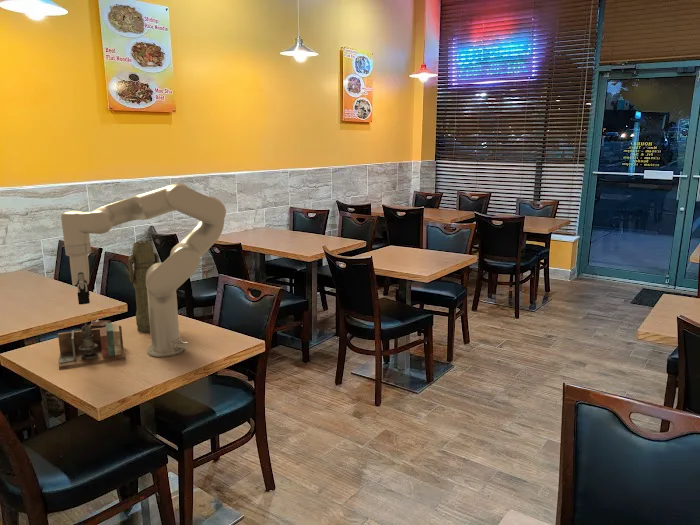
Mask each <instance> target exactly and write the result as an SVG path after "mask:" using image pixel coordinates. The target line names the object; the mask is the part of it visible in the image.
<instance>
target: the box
mask: <svg viewBox="0 0 700 525" xmlns="http://www.w3.org/2000/svg"><path fill="white" fill-rule="evenodd" d="M106 323H112V320H94V321H93V322H91V323H90V324H88V325H89V326H91V329H96V328H103V327H106Z"/></svg>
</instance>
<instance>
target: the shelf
mask: <svg viewBox="0 0 700 525" xmlns="http://www.w3.org/2000/svg"><path fill="white" fill-rule="evenodd" d="M91 332H92V334H93V336H92V338H93V343H95V344H98V347H97V351H96V352H95V353H97V354H98V356H97V357H96V358H93V359H88V360H84V359H81V357H82V356H83V355H84V354H82V353H81V351H80V349H79V347H80V346H82V345H83V338H82V337H81V336H82V329H81V330H74V334H75V343H76V361H74V362H68V363H61V364H59V363H58V370H63V369H70V368H78V367H84V366H90V365H96V364H97V365H98V364H103V363H110V362H117V361H123V360H126V353H125V349H124V348H125V347H124V342H123V341H124V339H123V330H122V324H119V323H118V322H115V323H113V322H111V323H106V327H103V328H96V329H91ZM57 337H58V346H59V352H60V353H66V352H73V348H72V331H66V332H58V333H57ZM60 353H59V354H60Z"/></svg>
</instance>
